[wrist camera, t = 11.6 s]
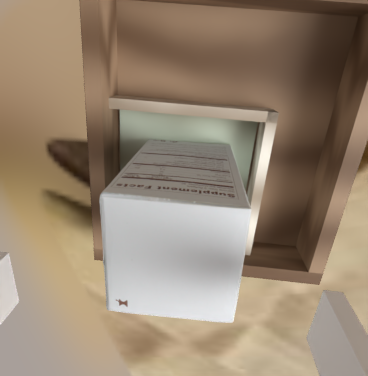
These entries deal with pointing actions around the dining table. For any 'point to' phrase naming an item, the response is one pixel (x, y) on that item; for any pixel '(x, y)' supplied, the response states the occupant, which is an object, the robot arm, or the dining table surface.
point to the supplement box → (175, 232)
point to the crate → (237, 107)
